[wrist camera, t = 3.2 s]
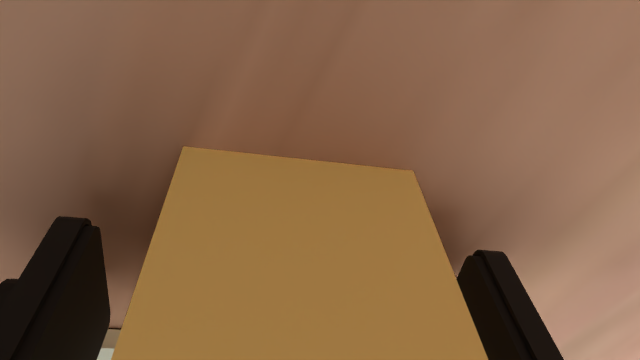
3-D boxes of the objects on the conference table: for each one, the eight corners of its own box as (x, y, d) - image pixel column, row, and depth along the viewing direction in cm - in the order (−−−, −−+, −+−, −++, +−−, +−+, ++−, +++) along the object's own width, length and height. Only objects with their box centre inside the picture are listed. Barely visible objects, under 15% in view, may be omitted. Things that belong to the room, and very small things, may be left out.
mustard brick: (412, 169, 11) (521, 444, 6) (364, 316, 13) (410, 586, 9) (183, 145, 10) (85, 434, 5) (182, 305, 13) (118, 592, 8)
